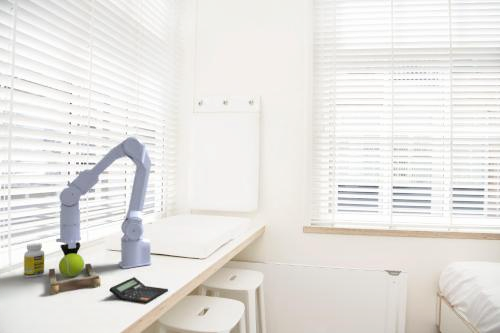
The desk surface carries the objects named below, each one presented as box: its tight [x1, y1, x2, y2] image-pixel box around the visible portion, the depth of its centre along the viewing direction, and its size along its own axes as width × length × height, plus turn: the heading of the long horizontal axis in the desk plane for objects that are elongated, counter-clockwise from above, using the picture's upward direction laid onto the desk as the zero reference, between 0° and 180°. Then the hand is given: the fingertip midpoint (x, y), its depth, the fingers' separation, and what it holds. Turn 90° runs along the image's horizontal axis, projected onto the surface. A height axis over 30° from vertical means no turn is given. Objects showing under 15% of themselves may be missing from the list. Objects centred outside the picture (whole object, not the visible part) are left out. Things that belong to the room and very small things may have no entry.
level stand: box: [48, 263, 101, 296], centre depth 104 cm, size 12×22×2 cm, turn 32°
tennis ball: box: [58, 253, 85, 278], centre depth 108 cm, size 7×7×7 cm
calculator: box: [109, 276, 169, 305], centre depth 92 cm, size 9×12×3 cm
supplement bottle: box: [23, 242, 45, 279], centre depth 109 cm, size 5×5×10 cm
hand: (70, 266), depth 112 cm, fingers closed
